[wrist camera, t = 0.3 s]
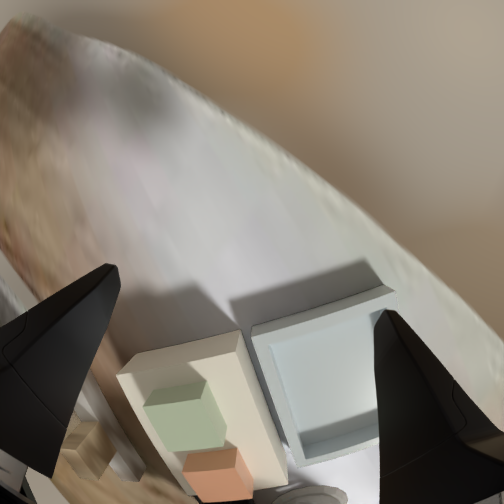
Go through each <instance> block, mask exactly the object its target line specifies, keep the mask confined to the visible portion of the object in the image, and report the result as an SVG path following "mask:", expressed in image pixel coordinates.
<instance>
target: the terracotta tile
mask: <svg viewBox="0 0 504 504" xmlns="http://www.w3.org/2000/svg"><path fill="white" fill-rule="evenodd" d="M181 473H182V474H183V476H184V477H185V479H186V480H187V481H188V483H189V484H190V486H191V487H192V489H193V490H194V491H195V493H196V494H197V495H198V497H199V498H200V499H201V501H202V502H203V503H207V502H223V501H235V500H244V499H253V483H254V479H253V477H252V475H251V473H250V471H249V469H248V467H247V466H246V464H245V462H244V460H243V458H242V456H241V454H240V452H239V450H238V448H233V449H226V450H219V451H210V452H201V453H191V454H188V455H187V458H186V461H185V464H184V467H183V469H182V472H181Z"/></svg>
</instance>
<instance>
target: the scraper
mask: <svg viewBox="0 0 504 504" xmlns="http://www.w3.org/2000/svg"><path fill="white" fill-rule="evenodd" d="M74 410H75V412H76V413H77V415H78V417H79V419H80V420H81V423H80V424H79V425H78V426H77V427H76V428H75V429H74V431H73V432H72V433H71V434H70V435H69V436H68V437H67V438H66V440H65V441H64V442H63V443H62V446H61V449H60V452H61V453H62V455H63V456H64V458H65V459H66V460H67V462H68V463H69V464H70V466H71V467H72V468H73V470H74V471H75V472H76V474H77V475H78V476H79V477H80V478H82V479H89V480H97V481H98V480H99V479H100V477H101V476H102V474H103V473H104V471H105V469H106V468H107V466H108V465H110V466H111V467H112V469H113V470H114V471H115V473H116V474H117V475H118V477H119V478H120V479H121V480H122V481H133V482H139V481H140V479H141V477H142V475H143V473H144V471H145V469H146V467H147V466H146V465H145V464H144V462H143V461H142V459H141V458H140V456H139V455H138V453H137V452H136V450H135V449H134V447H133V445H132V444H131V442H130V441H129V439H128V437H127V436H126V434H125V433H124V431H123V429H122V428H121V426H120V424H119V422H118V421H117V419H116V417H115V416H114V414H113V412H112V410H111V408H110V407H109V405H108V403H107V401H106V399H105V397H104V395H103V393H102V391H101V389H100V387H99V385H98V383H97V381H96V379H95V377H94V375H93V373H92V371H91V369H89V371H88V373H87V376H86V378H85V381H84V383H83V386H82V389H81V391H80V394H79V396H78V399H77V402H76V405H75V407H74Z"/></svg>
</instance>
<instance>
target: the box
mask: <svg viewBox="0 0 504 504" xmlns="http://www.w3.org/2000/svg"><path fill="white" fill-rule="evenodd" d="M385 309H389V310H395V311H397V312H398V314H399V315H400V312H399V306H398V300H397V295H396V291H395V290H393V289H391V288H390V287H388V286H386V285H381V286H378V287H376V288H373V289H370V290H367V291H364V292H361V293H358V294H356V295H353V296H350V297H347V298H344V299H341V300H338V301H335V302H332V303H328V304H325V305H322V306H319V307H316V308H313V309H309V310H306V311H303V312H300V313H296V314H293V315H290V316H286V317H283V318H279V319H276V320H273V321H269V322H265V323H262V324H258V325H255V326H252V332H251V339H252V342H253V345H254V348H255V351H256V354H257V357H258V360H259V363H260V365H261V368H262V371H263V374H264V377H265V380H266V383H267V386H268V388H269V391H270V394H271V397H272V400H273V403H274V405H275V408H276V411H277V414H278V417H279V419H280V422H281V425H282V428H283V430H284V433H285V436H286V439H287V441H288V444H289V447H290V450H291V452H292V455H293V458H294V460H295V463H296V466H297V468H301V467H305V466H309V465H313V464H317V463H321V462H324V461H328V460H331V459H335V458H338V457H342V456H345V455H348V454H351V453H354V452H357V451H360V450H363V449H366V448H369V447H371V446H374V445H377V444H379V426H378V411H377V398H376V386H375V376H374V337H373V330H374V326H375V324H376V322H377V320H378V319H379V317H380V315H381V313H382V312H383V311H384V310H385Z"/></svg>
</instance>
